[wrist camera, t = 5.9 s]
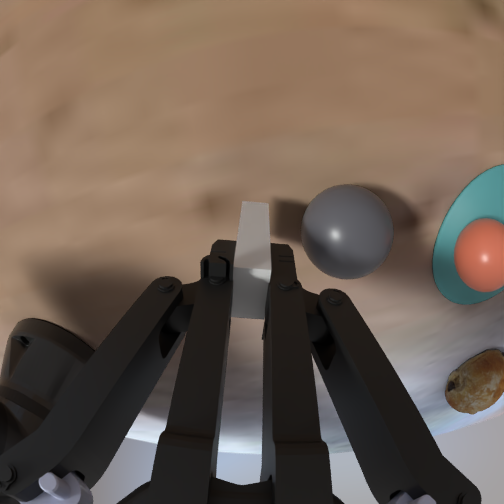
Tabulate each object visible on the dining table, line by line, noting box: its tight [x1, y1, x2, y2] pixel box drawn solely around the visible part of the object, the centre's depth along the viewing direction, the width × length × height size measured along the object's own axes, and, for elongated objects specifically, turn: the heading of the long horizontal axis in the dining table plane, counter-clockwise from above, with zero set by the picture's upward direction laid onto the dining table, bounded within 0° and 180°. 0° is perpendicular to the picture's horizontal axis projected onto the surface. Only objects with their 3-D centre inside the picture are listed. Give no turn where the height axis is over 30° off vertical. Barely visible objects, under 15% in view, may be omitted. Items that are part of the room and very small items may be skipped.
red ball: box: [454, 218, 504, 292], centre depth 18 cm, size 6×6×6 cm
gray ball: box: [301, 184, 394, 279], centre depth 17 cm, size 6×6×6 cm
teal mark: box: [433, 164, 504, 305], centre depth 20 cm, size 14×14×1 cm
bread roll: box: [445, 349, 504, 414], centre depth 29 cm, size 10×10×8 cm
